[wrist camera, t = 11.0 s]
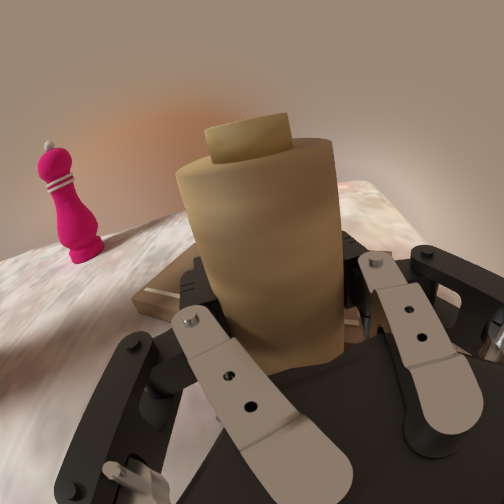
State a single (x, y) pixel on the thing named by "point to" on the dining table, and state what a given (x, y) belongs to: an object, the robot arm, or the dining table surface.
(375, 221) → the dining table surface
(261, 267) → the tan tall cylinder
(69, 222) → the pepper mill
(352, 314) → the walnut board
